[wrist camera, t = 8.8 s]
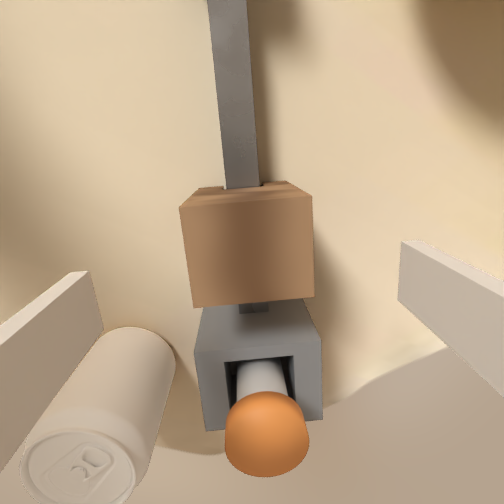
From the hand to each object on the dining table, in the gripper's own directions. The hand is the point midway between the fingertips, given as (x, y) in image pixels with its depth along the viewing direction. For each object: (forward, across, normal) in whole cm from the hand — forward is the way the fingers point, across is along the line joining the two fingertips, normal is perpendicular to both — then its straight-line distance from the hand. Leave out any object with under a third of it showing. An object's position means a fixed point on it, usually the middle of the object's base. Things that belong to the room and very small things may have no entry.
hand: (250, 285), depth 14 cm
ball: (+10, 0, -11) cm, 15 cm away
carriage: (+15, 0, 0) cm, 15 cm away
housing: (+15, 0, -11) cm, 19 cm away
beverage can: (+15, -12, -13) cm, 23 cm away
